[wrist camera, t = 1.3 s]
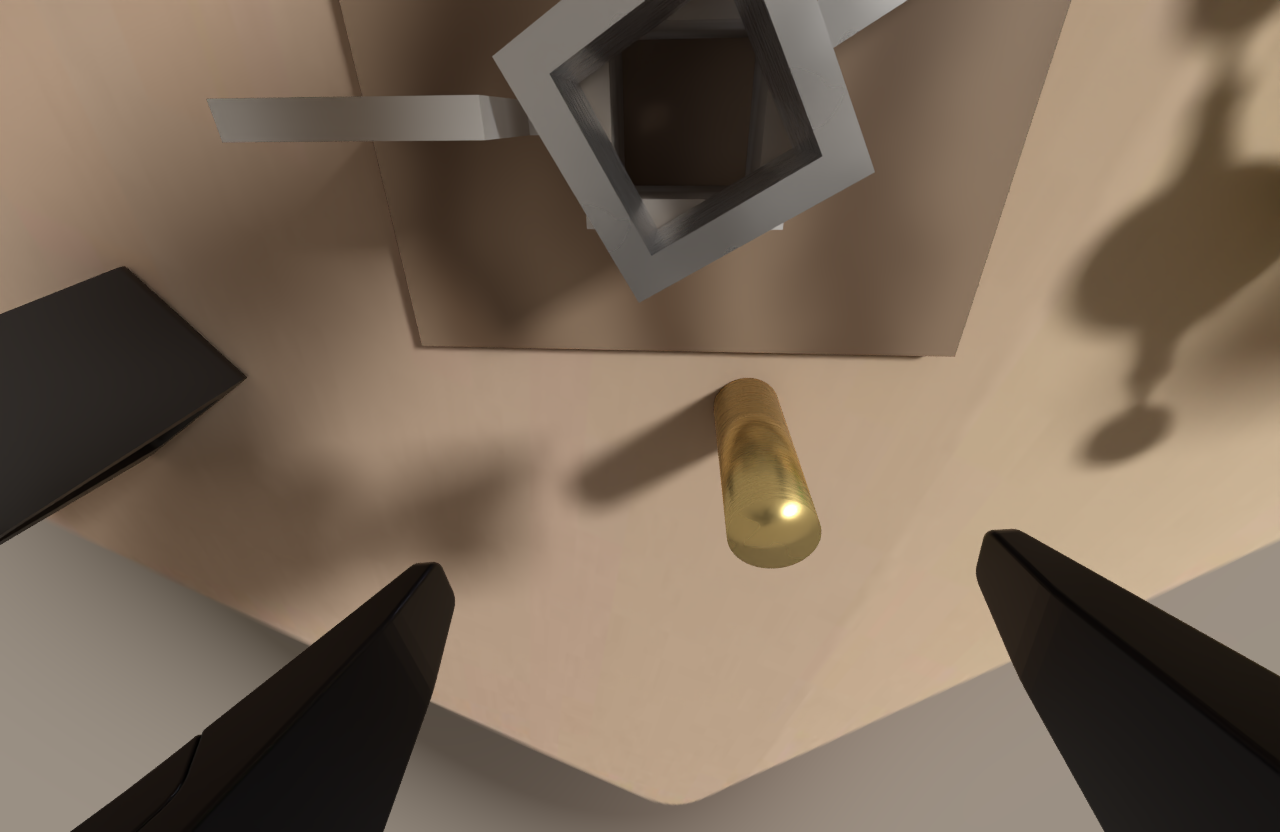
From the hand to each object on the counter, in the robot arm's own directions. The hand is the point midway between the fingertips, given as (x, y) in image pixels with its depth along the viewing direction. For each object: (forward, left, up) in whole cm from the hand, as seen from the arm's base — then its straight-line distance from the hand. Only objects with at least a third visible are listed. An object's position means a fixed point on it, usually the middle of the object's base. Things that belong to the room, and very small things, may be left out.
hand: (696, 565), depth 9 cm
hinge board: (0, -7, -14) cm, 15 cm away
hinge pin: (-3, +4, -14) cm, 15 cm away
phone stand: (+25, +3, -14) cm, 29 cm away
